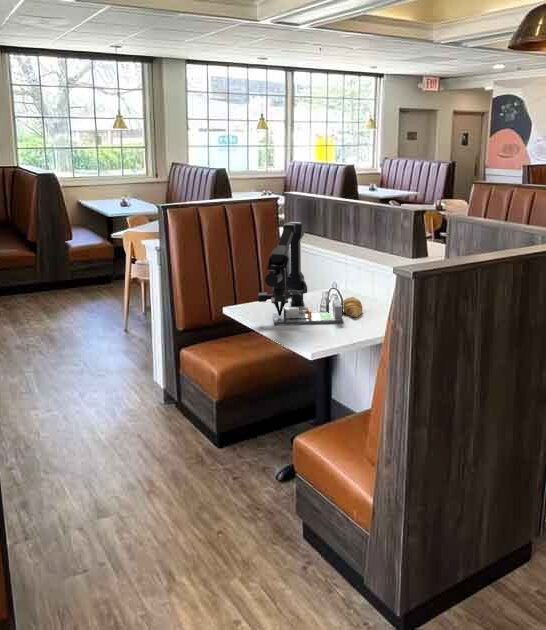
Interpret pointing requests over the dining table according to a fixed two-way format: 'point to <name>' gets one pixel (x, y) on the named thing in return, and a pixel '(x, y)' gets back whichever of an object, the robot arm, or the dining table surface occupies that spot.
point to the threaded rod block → (293, 312)
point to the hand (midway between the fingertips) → (279, 315)
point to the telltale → (309, 312)
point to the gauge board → (313, 317)
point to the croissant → (352, 306)
